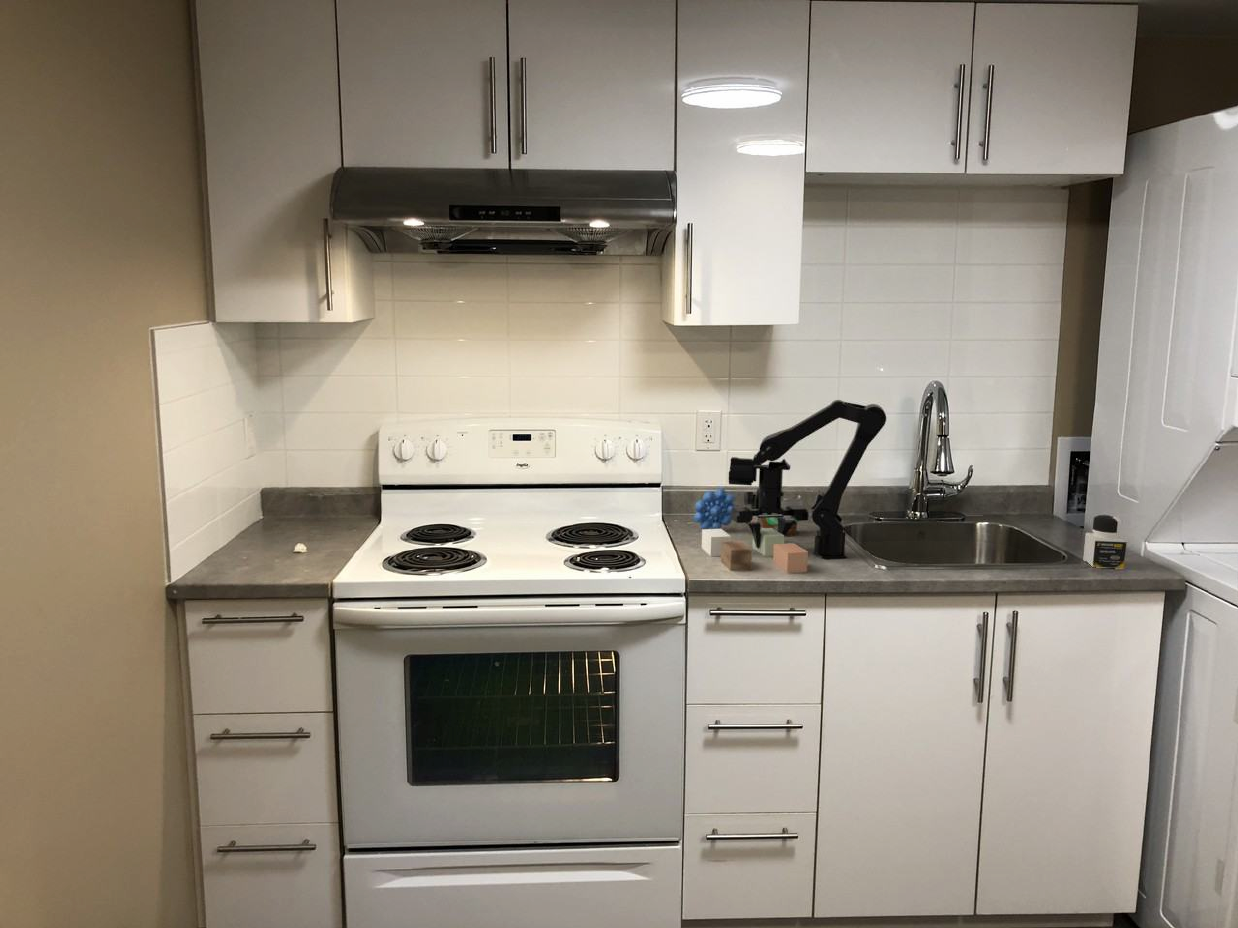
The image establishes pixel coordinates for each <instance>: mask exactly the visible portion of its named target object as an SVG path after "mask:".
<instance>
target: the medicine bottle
mask: <svg viewBox="0 0 1238 928" xmlns="http://www.w3.org/2000/svg"><path fill="white" fill-rule="evenodd" d="M1092 522H1093V523H1092V531H1091V532H1086V533H1085V538H1084V549H1083V561H1084V562H1085V561H1087V562H1088V563H1089V564H1090V565H1091V566H1092V567H1096V568H1095V569H1101V568H1115V569H1114V570H1124V569H1125V561H1126V553H1127V552H1126V551H1127V540H1126V539H1124V538H1123V537H1122V536H1121V534H1122V533H1121V531H1122V530H1121V529H1122V523H1123V522H1122V519H1121V518H1119V517H1117V516H1114V515H1107V514H1100V515H1097V516H1094V517H1093V521H1092ZM1089 564H1088V565H1089ZM1090 565H1089V566H1090ZM1091 566H1090V567H1091ZM1092 567H1091V568H1092Z"/></svg>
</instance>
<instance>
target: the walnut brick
mask: <svg viewBox="0 0 1238 928" xmlns="http://www.w3.org/2000/svg"><path fill="white" fill-rule="evenodd" d="M752 549H753V548H750V547H749V546H748V545H747V544H745V542H743V541H740V540H739V541H731V542H722V543H721V556H720V562H721V563H722V564H723V565H724V566H725V567H726V568H727V569H728V570H729V571H731V572H732V571H733V572H734V571H735V572H737V571H751V570H752V558H753V557H752V552H753V550H752Z"/></svg>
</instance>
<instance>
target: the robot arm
mask: <svg viewBox="0 0 1238 928" xmlns="http://www.w3.org/2000/svg"><path fill="white" fill-rule="evenodd" d="M837 419H843V420H846V421H848V422H853V423H857V424H856V429H855V433H854V436H853V438H852V440H851V442H850V444H849V446H848V448H847V450H846V452H845V454H844V456H843V458H842V460H841V461H840V464H839V465H838V468H837V469H836V472H835V473H834V476H833V477H832V479H831V482H830V483H829V485H828V487H826V489H825V490H824V491H822V490H821V489H818V491H817V494H816V497H815V499H814V500H813V501H811V506H810V507H811V508H810V509H811V518H812V521H813V523H814V524H815V525H816V526H818V527H819V529H816V535H815V536H814V545H813V546H814V549H813V554H815V555H816V556H819V557H820V558H821V559H842V558H845V559H846V558H848V555H847V554H846V553H845V551H846V550H845V549H846V548H845V547H846V530H845V524H844V523H845V522H844V519H843V518H842V517H841V515H839V514H838V512H839V508H840V505H841V500H842V496H843V494H844V493H845V490H846V488H847V487H848V485H849V483H850V481H851V479H852V476H853V475H854V473H855V471H856V469H857V467H858V466H859V463H860V461H861V460H862V457H863V455H864V453H865V452H866V450H867V448H868V446H869V445H870V443H871V442H872V441H873V440H874V439H875V438H876V437H877V435H878V434H879V432H881V431H882V429H883V428H884V426H885V424H886V422H887V415H886V412H885V410H884V408H882V406H880V405H879V404H876V403H870V404H867V405H862V404H859V403H854V402H848V401H843V400H841V399H835V400H833V401H832V402H831V403H830V404H829V405H827V406H825V407H823V408H822V409H820V410H818V411H816V412H814V413H813V414H812V415H810V416H808V417H806V418H805V419H803V420H801V421H800V422H798V423H795V425H793V426H791V427H789V428H786V429H783V430H779V431H776V432H774V433H771V434H769V435H768V434H767V436H765V437H764V438H763V439H762V440H761V443H760V445H759V450H758V451H757V453H755V454H754V456H753V457H752V458H746V457H744V458H743V457H735V456H734V457H733V456H732V457H731V458H730V465H729V471H728V485H734V486H736V485H737V486H752V485H753V483H754V482H755V483H756V482H757V479H758V488H757V489H756V494H755V493H754V491H745V492H744V495H743V501H744V502H743V503H744V505H745V506H741V507H738V506H737V507H733V508H732V510H731V512H730V518H731V519H732V521H733V522H734V523H738V524H746V525H747V526H748V527H749V529H750V531H751V535H752V539H753V538H754V541H755V544H756V547H757V548H759V546H760V530H761V528H762V523H760V522H759V519H761V518H771V517H777V519H778V532H779V533H781V534H783V535H784V539H785V538H786V537H787V536H786V534H787V533H788V531H789V529H790V528H791V526H792V525H793V524H796V521H794V518H795V519H796V520H797V521H798V522H801V521H809V514H810V513H809V510H807V508H805V507H803V505H802V506H800V505H791V506H787V507H786V509H784V510H783V508H781V502H782V498H783V497H784V492H783V473H784V471H790V470H791V464H789V463H788V462H787V459H785V458H783V459H782V460H781V461H778V460H779V459H781V457H783V456H784V455H785V454H786V453H787V452H788V451H790V450H791V449H792V448H793V446H795V445H796V444H797V443H798V442H800V441H802V440H803V439H805V438H807V437H809V436H811V435H812V434H813V433H815V432H816V431H817V432H818V431H819V430H820V429H822V428H824V427H826V426H827V425H830V423H833V422H834V421H836V420H837ZM767 461H768V464H764V463H766V462H767ZM758 470H759V471H758ZM758 473H759V475H758ZM747 506H751V509H750V508H748V507H747ZM773 513H774V514H773ZM775 513H777V514H775Z"/></svg>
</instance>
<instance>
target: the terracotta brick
mask: <svg viewBox="0 0 1238 928" xmlns="http://www.w3.org/2000/svg"><path fill="white" fill-rule="evenodd" d="M808 553H809V551H808V550H805V549H804V548H803V547H800V546H799V545H797V544H795V543H794V542H792V543H790V542H789V543H784V544H774V554H773V558H772V564H773V565H774V566H775V567H777V568H779V570H781V571H783V572H784V573H786V574H797V573H807V572H808V556H809V554H808Z"/></svg>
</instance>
